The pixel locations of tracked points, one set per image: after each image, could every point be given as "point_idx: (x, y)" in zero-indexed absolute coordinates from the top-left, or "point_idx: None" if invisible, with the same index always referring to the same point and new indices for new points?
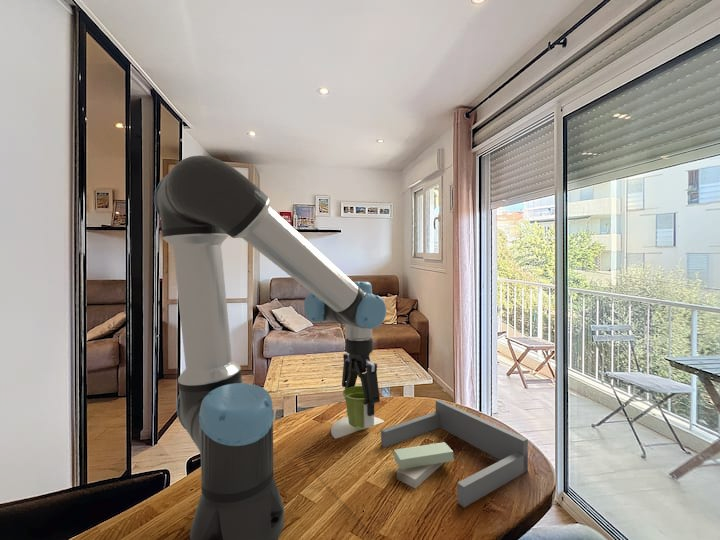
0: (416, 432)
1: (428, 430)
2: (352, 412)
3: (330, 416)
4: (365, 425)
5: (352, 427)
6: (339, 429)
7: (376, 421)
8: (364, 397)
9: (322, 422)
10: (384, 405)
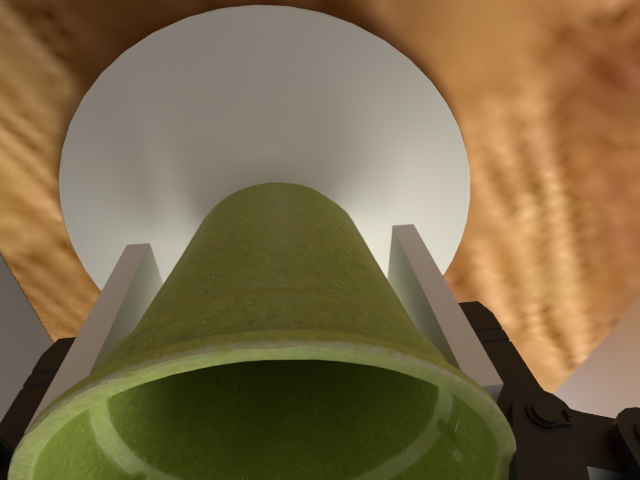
0: None
1: None
2: (204, 250)
3: (575, 143)
4: (120, 259)
5: None
6: (336, 101)
7: None
8: (360, 435)
9: (552, 42)
10: None
